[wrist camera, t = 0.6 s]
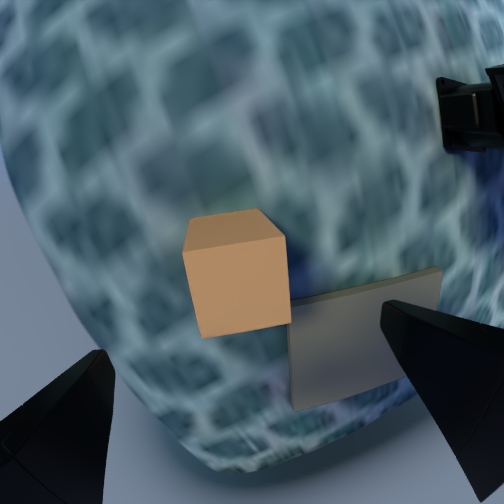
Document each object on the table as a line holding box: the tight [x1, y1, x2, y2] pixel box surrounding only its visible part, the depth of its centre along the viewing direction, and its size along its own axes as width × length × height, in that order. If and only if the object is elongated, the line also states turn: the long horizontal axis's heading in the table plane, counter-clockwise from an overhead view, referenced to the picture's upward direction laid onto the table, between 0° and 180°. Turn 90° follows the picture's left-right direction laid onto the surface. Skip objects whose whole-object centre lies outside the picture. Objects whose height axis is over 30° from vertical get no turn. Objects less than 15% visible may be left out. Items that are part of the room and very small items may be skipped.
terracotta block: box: [182, 208, 291, 338], centre depth 17 cm, size 4×4×7 cm
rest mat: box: [287, 267, 443, 412], centre depth 24 cm, size 15×12×1 cm
